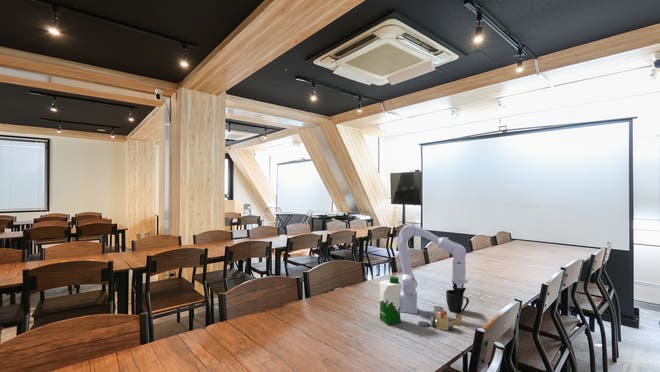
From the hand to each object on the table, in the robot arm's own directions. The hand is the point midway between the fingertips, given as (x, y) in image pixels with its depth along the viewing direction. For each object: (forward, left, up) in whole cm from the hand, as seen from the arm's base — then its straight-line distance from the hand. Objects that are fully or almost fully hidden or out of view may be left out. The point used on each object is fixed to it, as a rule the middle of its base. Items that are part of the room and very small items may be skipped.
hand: (458, 299), depth 142 cm
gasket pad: (-15, -13, -10) cm, 22 cm away
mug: (0, +9, -10) cm, 14 cm away
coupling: (-9, -3, -10) cm, 14 cm away
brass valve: (-7, -13, -10) cm, 17 cm away
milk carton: (-30, -16, -10) cm, 35 cm away
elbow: (-1, -6, -10) cm, 11 cm away
